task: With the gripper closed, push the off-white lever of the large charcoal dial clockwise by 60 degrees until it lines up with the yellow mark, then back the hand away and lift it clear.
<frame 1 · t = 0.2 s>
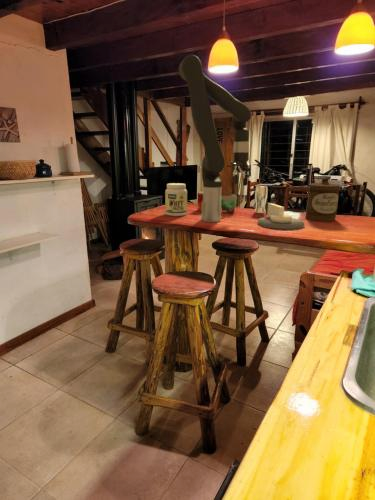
hand: (240, 184, 162), 18 cm above the table, tool pointing down, fingers open, 8 cm apart
canned food: (203, 210, 191), on the table
dial lever: (277, 212, 158), point 5 cm above the table, hinge at 0.0°
beer glass: (259, 212, 186), on the table
supplement tub: (176, 214, 179), on the table
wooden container: (319, 219, 170), on the table
food container: (230, 212, 186), on the table
dial base: (280, 224, 156), on the table
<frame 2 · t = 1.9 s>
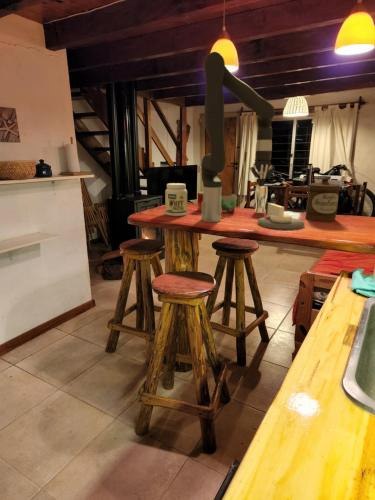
hand: (261, 186, 158), 18 cm above the table, tool pointing down, fingers closed
nothing on the table moved.
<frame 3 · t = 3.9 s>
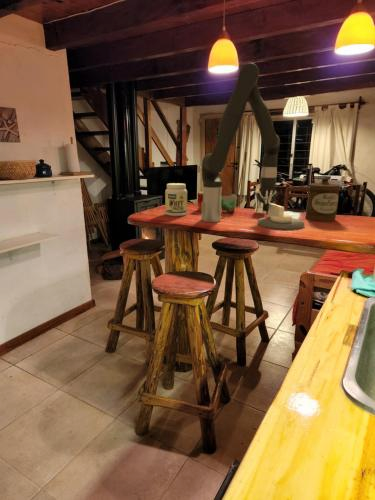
hand: (265, 210, 163), 5 cm above the table, tool pointing down, fingers closed
dial lever: (277, 212, 158), point 5 cm above the table, hinge at -1.2°, touching gripper
everything else where it was.
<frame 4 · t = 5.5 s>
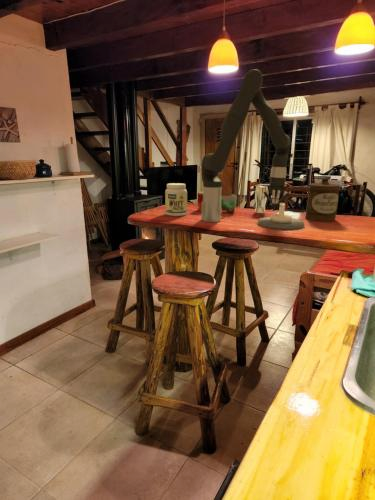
hand: (274, 210, 164), 5 cm above the table, tool pointing down, fingers closed
dial lever: (281, 212, 158), point 5 cm above the table, hinge at -31.9°, touching gripper
everything else where it was.
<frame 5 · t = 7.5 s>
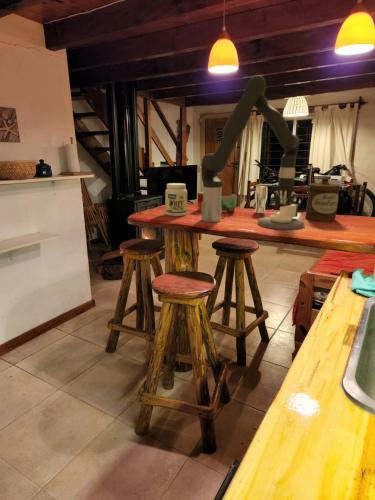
hand: (283, 211, 164), 5 cm above the table, tool pointing down, fingers closed
dial lever: (285, 212, 157), point 5 cm above the table, hinge at -63.3°
everything else where it was.
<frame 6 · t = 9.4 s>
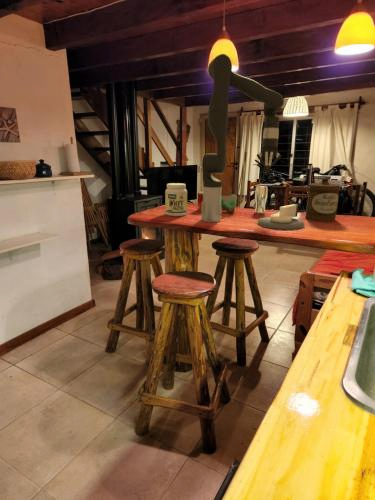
hand: (267, 173, 165), 23 cm above the table, tool pointing down, fingers closed
nothing on the table moved.
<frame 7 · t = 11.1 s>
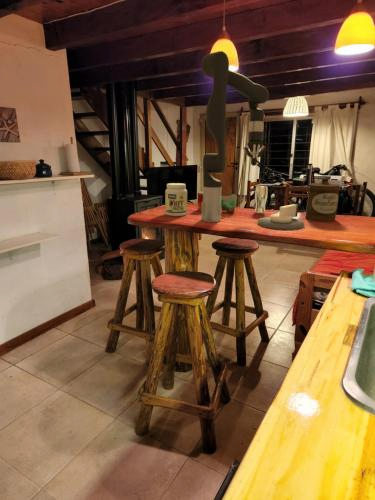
hand: (253, 165, 170), 27 cm above the table, tool pointing down, fingers closed
nothing on the table moved.
at the end: dial lever at -63° (first picture: +0°); beer glass moved 0.2 cm from its start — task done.
